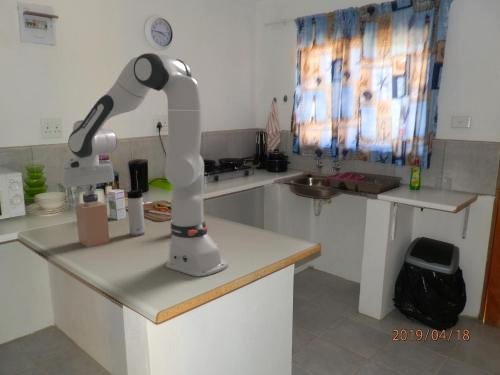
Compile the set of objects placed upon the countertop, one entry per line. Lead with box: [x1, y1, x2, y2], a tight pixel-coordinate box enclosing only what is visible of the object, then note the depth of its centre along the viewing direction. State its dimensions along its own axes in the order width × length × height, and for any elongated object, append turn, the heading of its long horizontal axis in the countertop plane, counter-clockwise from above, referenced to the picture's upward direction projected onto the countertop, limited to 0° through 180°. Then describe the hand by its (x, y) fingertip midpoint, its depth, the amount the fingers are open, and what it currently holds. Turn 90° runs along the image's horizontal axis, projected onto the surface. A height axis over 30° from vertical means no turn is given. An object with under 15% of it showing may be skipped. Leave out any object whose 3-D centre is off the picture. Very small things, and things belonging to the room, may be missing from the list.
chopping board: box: [125, 200, 172, 223], centre depth 210 cm, size 45×27×3 cm, turn 44°
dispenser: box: [75, 199, 111, 248], centre depth 157 cm, size 9×9×18 cm
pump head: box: [82, 193, 99, 203], centre depth 158 cm, size 9×6×12 cm, turn 44°
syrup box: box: [107, 188, 127, 221], centre depth 195 cm, size 6×6×14 cm
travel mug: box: [126, 189, 146, 237], centre depth 167 cm, size 6×7×20 cm
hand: (90, 195), depth 155 cm, fingers closed, pressing on pump head
